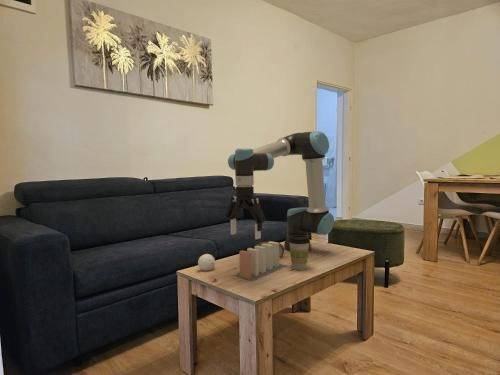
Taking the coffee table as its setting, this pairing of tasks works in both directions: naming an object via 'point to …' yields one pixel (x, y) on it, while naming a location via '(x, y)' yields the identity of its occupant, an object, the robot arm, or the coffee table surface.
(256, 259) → the domino
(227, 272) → the coffee table surface
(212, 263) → the geometric ball
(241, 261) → the domino
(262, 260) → the domino
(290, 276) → the coffee table surface
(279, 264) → the mat
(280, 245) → the tin
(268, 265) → the domino
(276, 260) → the domino
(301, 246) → the coffee cup
